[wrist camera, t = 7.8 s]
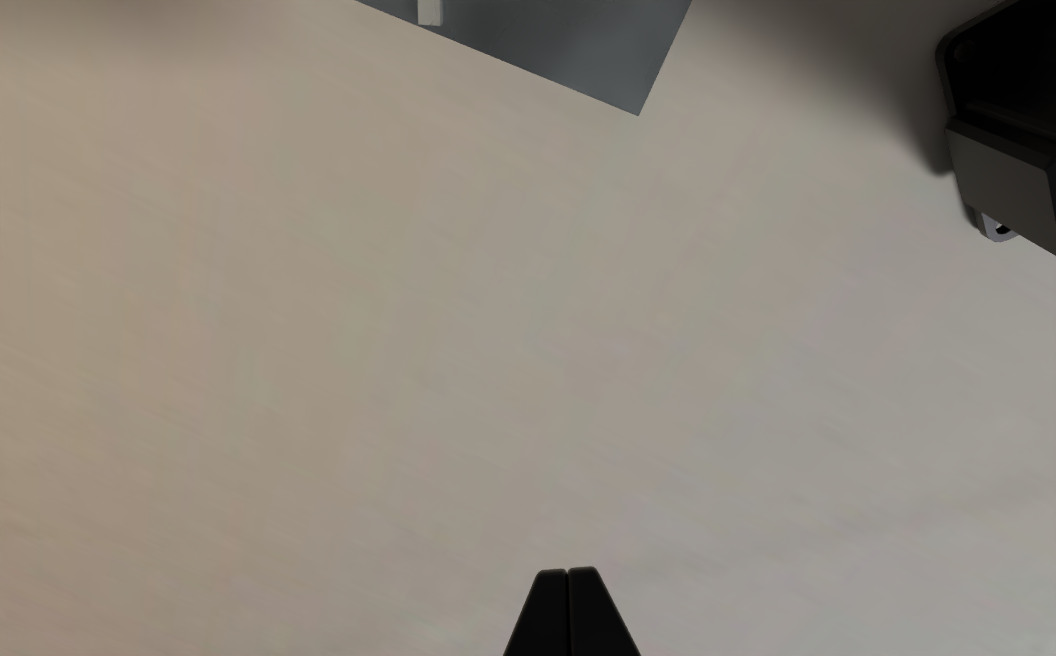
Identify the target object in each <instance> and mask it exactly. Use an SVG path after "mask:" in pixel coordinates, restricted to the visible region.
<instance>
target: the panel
mask: <svg viewBox="0 0 1056 656" xmlns="http://www.w3.org/2000/svg"><path fill="white" fill-rule="evenodd" d="M356 1H358V2H361V3H363V4H366V5H368V6H371V7H373V8H375V9H378V10H380V11H383V12H385V13H388V14H390V15H393V16H395V17H397V18H400V19H402V20H405V21H407V22H410V23H412V24H414V25H417V26H419V27H422V28H424V29H427V30H429V31H432V32H434V33H436V34H439V35H441V36H444V37H446V38H449V39H451V40H454V41H456V42H458V43H461V44H463V45H466V46H468V47H471V48H473V49H475V50H478V51H480V52H483V53H485V54H488V55H490V56H493V57H495V58H497V59H500V60H502V61H505V62H507V63H510V64H512V65H515V66H517V67H519V68H522V69H524V70H527V71H529V72H532V73H534V74H536V75H539V76H541V77H544V78H546V79H549V80H551V81H554V82H556V83H558V84H561V85H563V86H566V87H568V88H571V89H573V90H576V91H578V92H580V93H583V94H585V95H588V96H590V97H593V98H595V99H597V100H600V101H602V102H605V103H607V104H610V105H612V106H615V107H617V108H619V109H622V110H624V111H627V112H629V113H632V114H634V115H637V116H639V114H640V112H641V110H642V107H643V105H644V103H645V101H646V99H647V97H648V94H649V92H650V90H651V88H652V86H653V84H654V81H655V79H656V77H657V75H658V73H659V71H660V68H661V66H662V64H663V62H664V60H665V58H666V55H667V53H668V51H669V49H670V47H671V45H672V42H673V40H674V38H675V36H676V34H677V32H678V29H679V27H680V25H681V23H682V21H683V19H684V16H685V14H686V12H687V10H688V8H689V6H690V3H691V1H692V0H356Z"/></svg>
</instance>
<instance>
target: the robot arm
mask: <svg viewBox="0 0 1056 656" xmlns="http://www.w3.org/2000/svg"><path fill="white" fill-rule="evenodd" d="M963 41H965V42H966V49H965V51H964V53H963V54H962V55H961V56H960V57H959V58H957V59H955V58H954V52H955V50H956V48H957V46H958V45H959V44H960V43H962V42H963ZM935 58H936V64H937V68H938V72H939V76H940V80H941V83H942V87H943V91H944V95H945V99H946V103H947V107H948V111H949V115H950V117H949V118H948V120H947V123H946V126H945V129H944V131H945V135H946V139H947V143H948V146H949V150H950V154H951V158H952V162H953V166H954V169H955V173H956V177H957V181H958V185H959V189H960V192H961V196H962V200H963V201H964V203H966V204H968V205H969V206H971V207H973V210H974V214H975V218H976V221H977V225H978V229H979V231H980V233H981V234H982V235H984V236H985V237H987V238H988V239H990V240H992V241H994V242H1003V241H1006V240H1009V239H1011V238H1013V237H1016V236H1018V235H1021V236H1023V237H1024V238H1026V239H1028V240H1030V241H1031V242H1033V243H1035V244H1037V245H1038V246H1040V247H1042V248H1043V249H1045V250H1047V251H1049V252H1050V253H1052V254H1054V255H1055V256H1056V0H1006V1H1004V2H1002V3H1000V4H999V5H997V6H995V7H993V8H991V9H990V10H988V11H986V12H984V13H982V14H981V15H979V16H977V17H975V18H973V19H972V20H970V21H968V22H966V23H964V24H963V25H961V26H959V27H957V28H955V29H954V30H952V31H950V32H949V33H948V34H946V35H945V36H944V37H943V38H942V40H941V41H940V42H939V44H938V46H937V49H936V52H935ZM998 223H1000V224H1002V226H1000V227H999V228H997V229H996V226H997V224H998ZM503 656H641V654H640V652H639V650H638V648H637V646H636V645H635V643H634V641H633V639H632V637H631V635H630V633H629V631H628V629H627V627H626V625H625V623H624V621H623V619H622V617H621V615H620V613H619V611H618V609H617V607H616V606H615V604H614V602H613V600H612V598H611V596H610V594H609V592H608V590H607V588H606V586H605V584H604V582H603V580H602V578H601V576H600V574H599V572H598V571H597V569H596V568H595V567H592V566H589V567H576V568H571V569H569V570H568V573H567V572H566V570H564V569H550V570H541V571H540V572H538V574H537V575H536V577H535V580H534V582H533V584H532V587H531V589H530V592H529V594H528V596H527V599H526V601H525V604H524V606H523V608H522V611H521V613H520V616H519V618H518V620H517V623H516V625H515V628H514V630H513V632H512V635H511V637H510V640H509V642H508V645H507V647H506V649H505V652H504V654H503Z"/></svg>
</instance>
